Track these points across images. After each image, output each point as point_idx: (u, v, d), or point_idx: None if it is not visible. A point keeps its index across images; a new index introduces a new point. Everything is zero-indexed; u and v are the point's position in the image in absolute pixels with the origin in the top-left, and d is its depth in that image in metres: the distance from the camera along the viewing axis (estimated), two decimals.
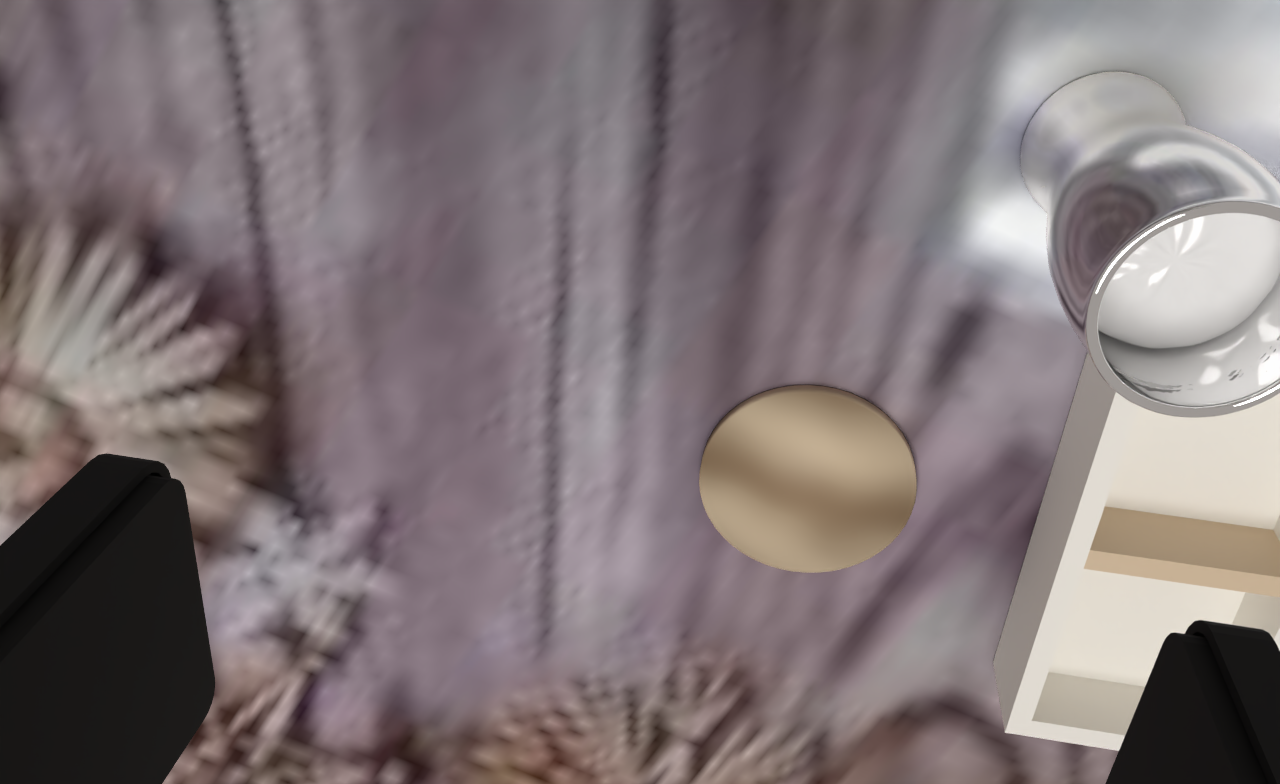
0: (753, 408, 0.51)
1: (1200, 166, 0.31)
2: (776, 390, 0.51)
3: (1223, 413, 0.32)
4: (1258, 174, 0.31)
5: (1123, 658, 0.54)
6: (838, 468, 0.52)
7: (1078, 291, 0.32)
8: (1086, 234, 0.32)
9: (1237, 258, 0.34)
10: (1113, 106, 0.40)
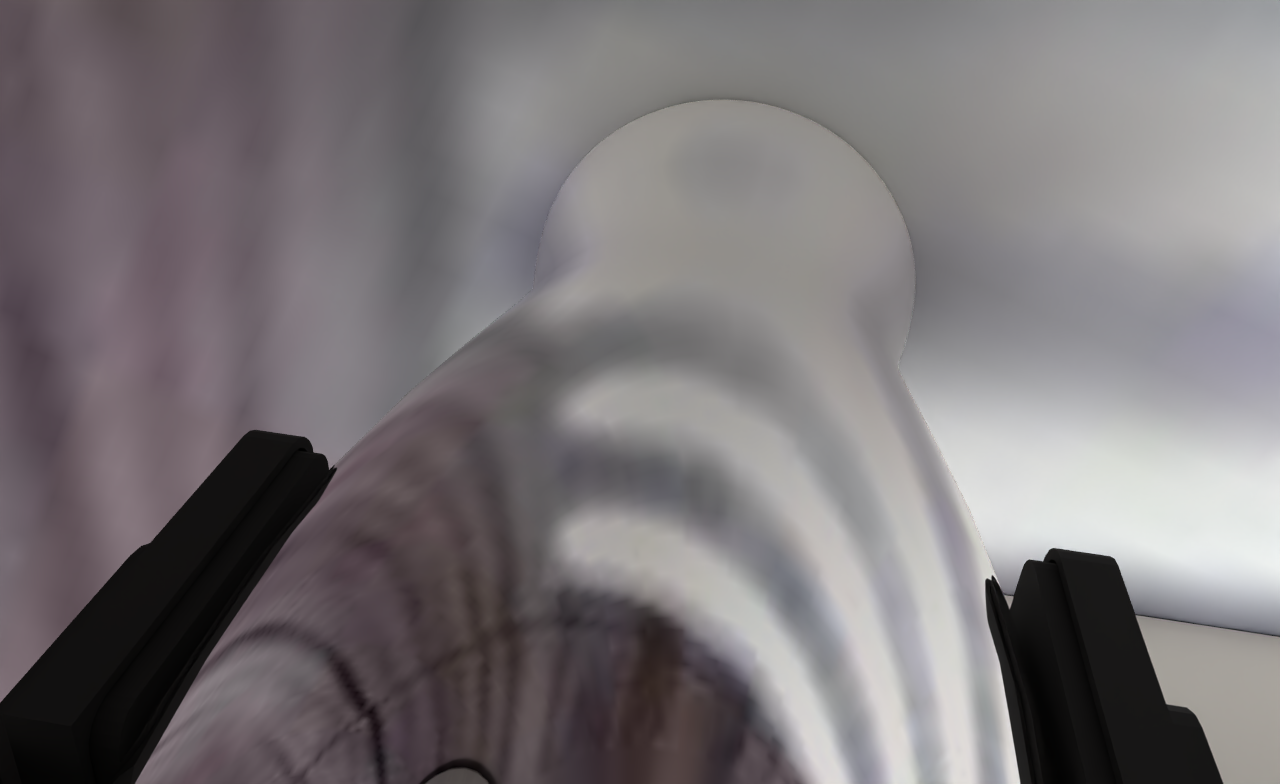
0: None
1: (467, 633, 0.06)
2: None
3: None
4: (754, 688, 0.06)
5: None
6: None
7: None
8: None
9: None
10: (653, 199, 0.14)
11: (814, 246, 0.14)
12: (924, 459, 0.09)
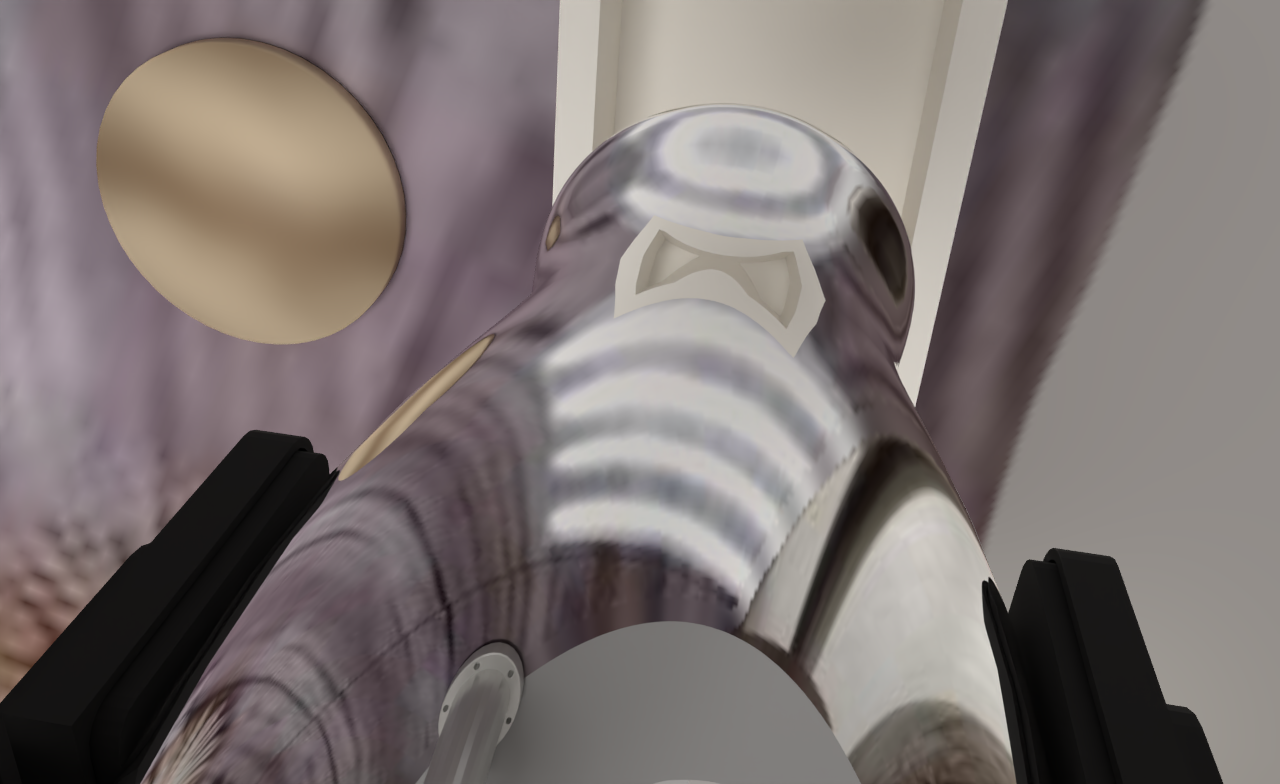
0: (142, 73, 0.34)
1: (466, 643, 0.06)
2: (177, 47, 0.34)
3: None
4: (754, 698, 0.06)
5: None
6: (281, 170, 0.35)
7: None
8: None
9: None
10: (652, 203, 0.14)
11: (813, 250, 0.14)
12: (923, 465, 0.09)
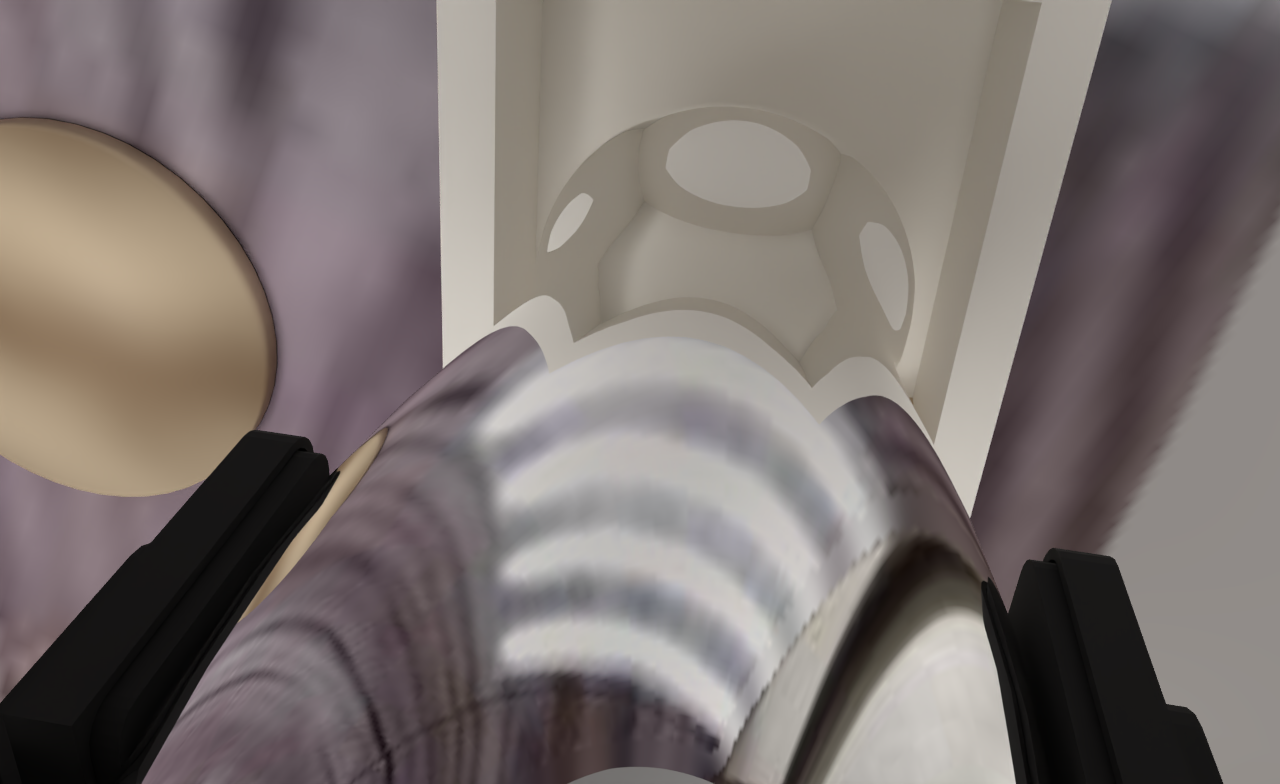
0: None
1: (466, 645, 0.06)
2: None
3: None
4: (753, 700, 0.06)
5: None
6: (108, 288, 0.27)
7: None
8: None
9: None
10: (652, 204, 0.14)
11: (813, 251, 0.14)
12: (923, 466, 0.09)
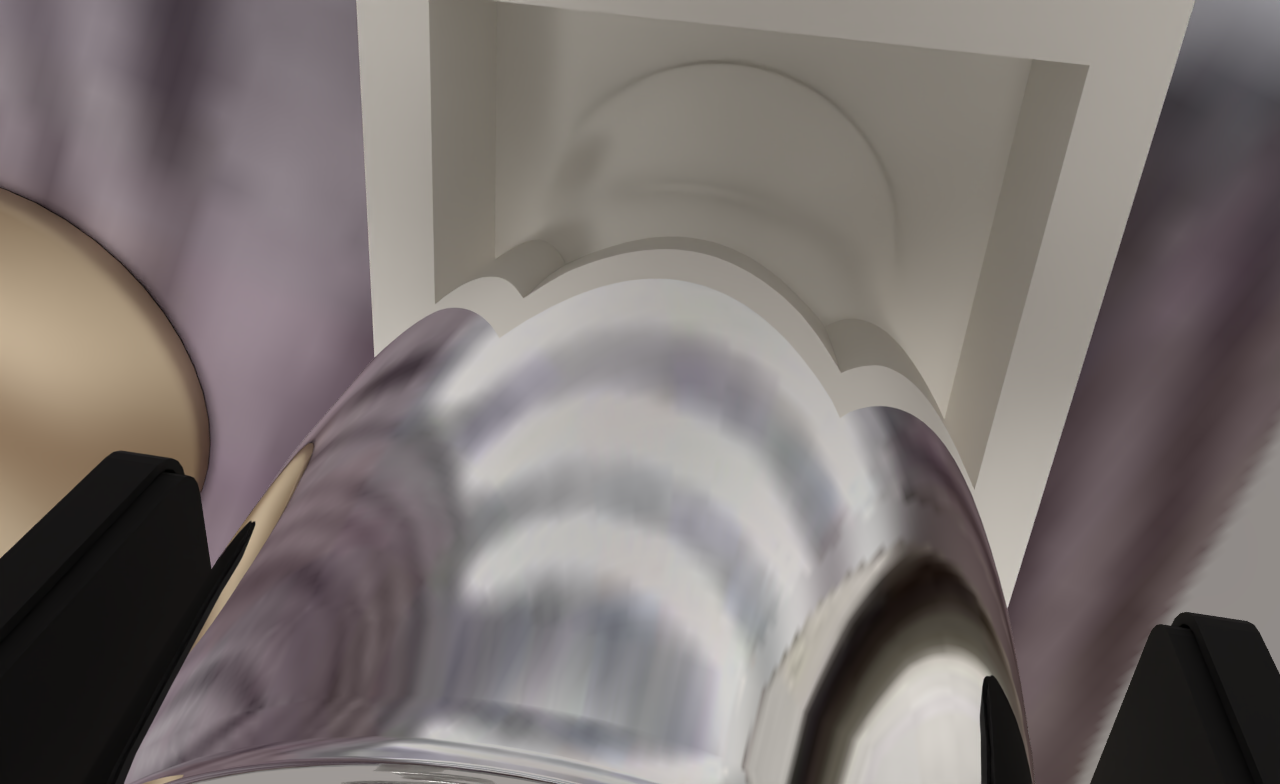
0: None
1: (498, 454, 0.07)
2: None
3: None
4: (740, 494, 0.07)
5: None
6: (16, 362, 0.24)
7: None
8: None
9: None
10: (650, 150, 0.16)
11: (799, 189, 0.15)
12: (894, 353, 0.11)
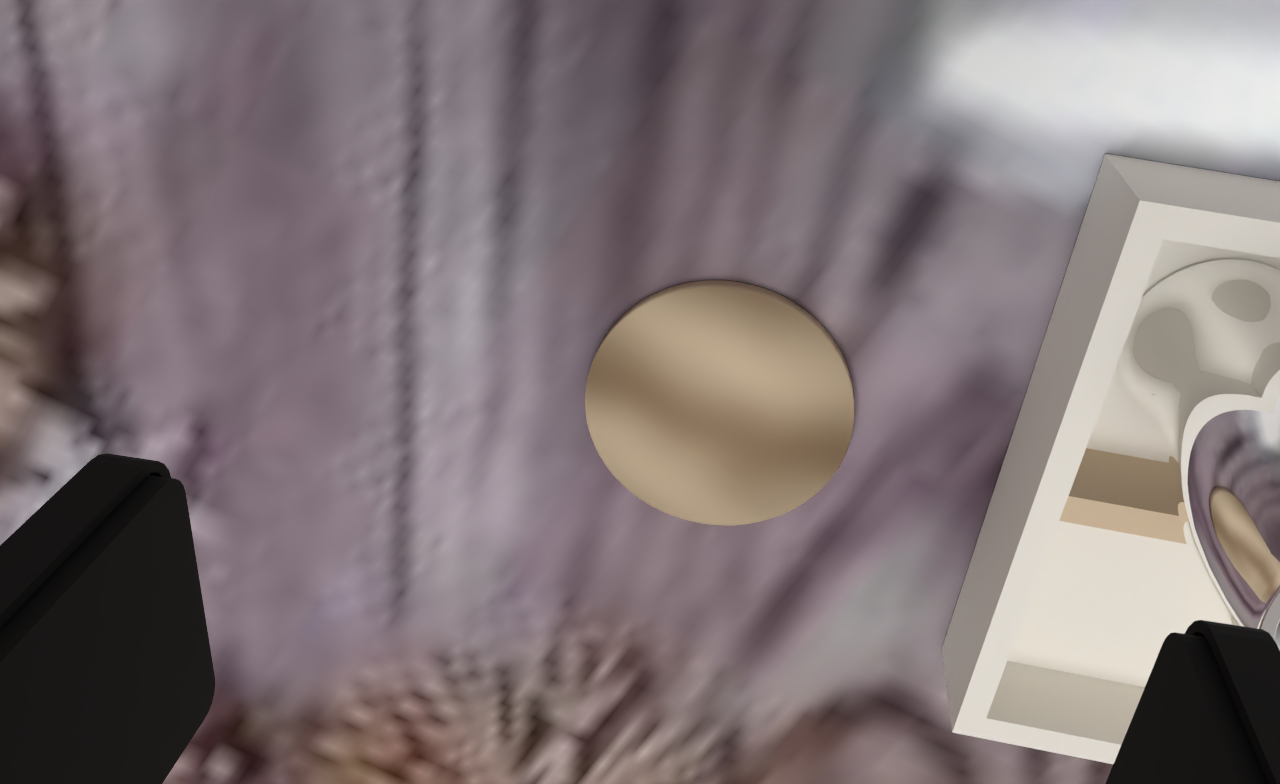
0: (653, 307, 0.40)
1: None
2: (682, 285, 0.40)
3: None
4: None
5: (1101, 646, 0.43)
6: (757, 390, 0.41)
7: (1243, 589, 0.25)
8: (1253, 515, 0.26)
9: None
10: (1246, 311, 0.33)
11: None
12: None
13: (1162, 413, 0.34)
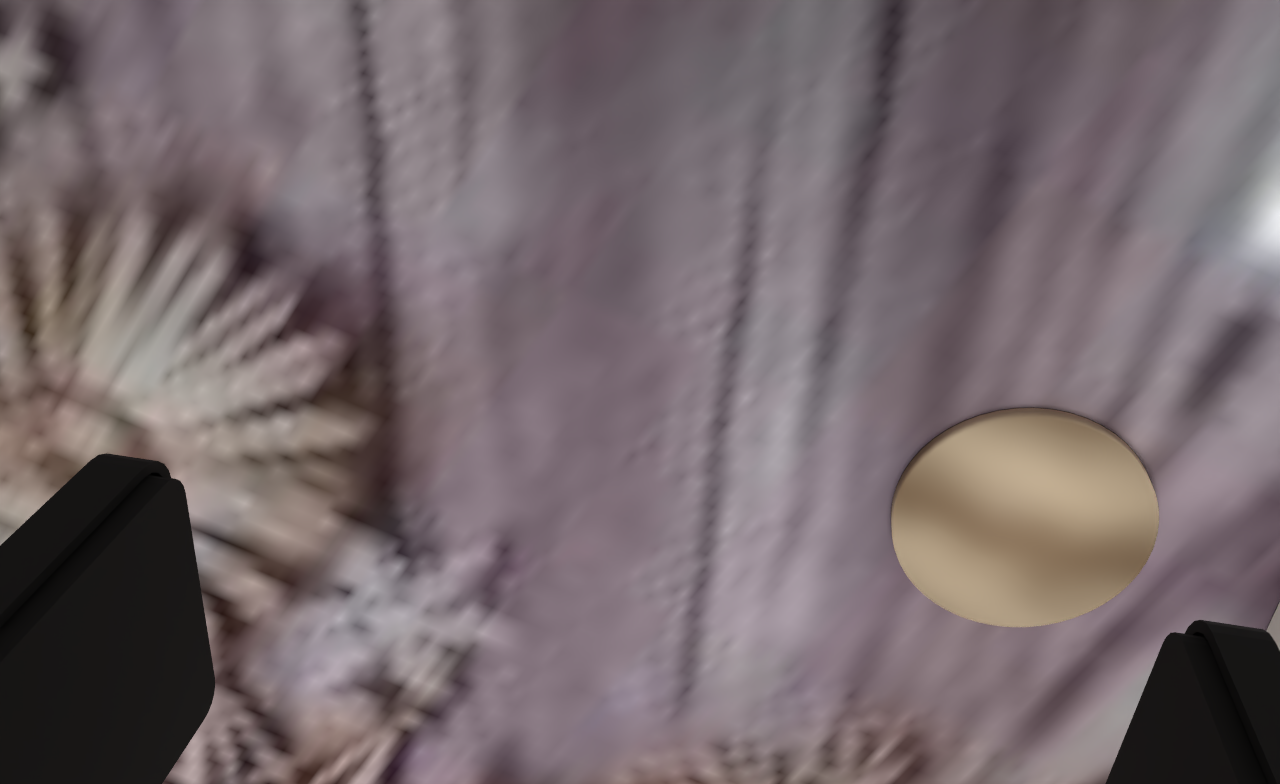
0: (968, 435, 0.42)
1: None
2: (995, 414, 0.42)
3: None
4: None
5: None
6: (1064, 507, 0.43)
7: None
8: None
9: None
10: None
11: None
12: None
13: None
